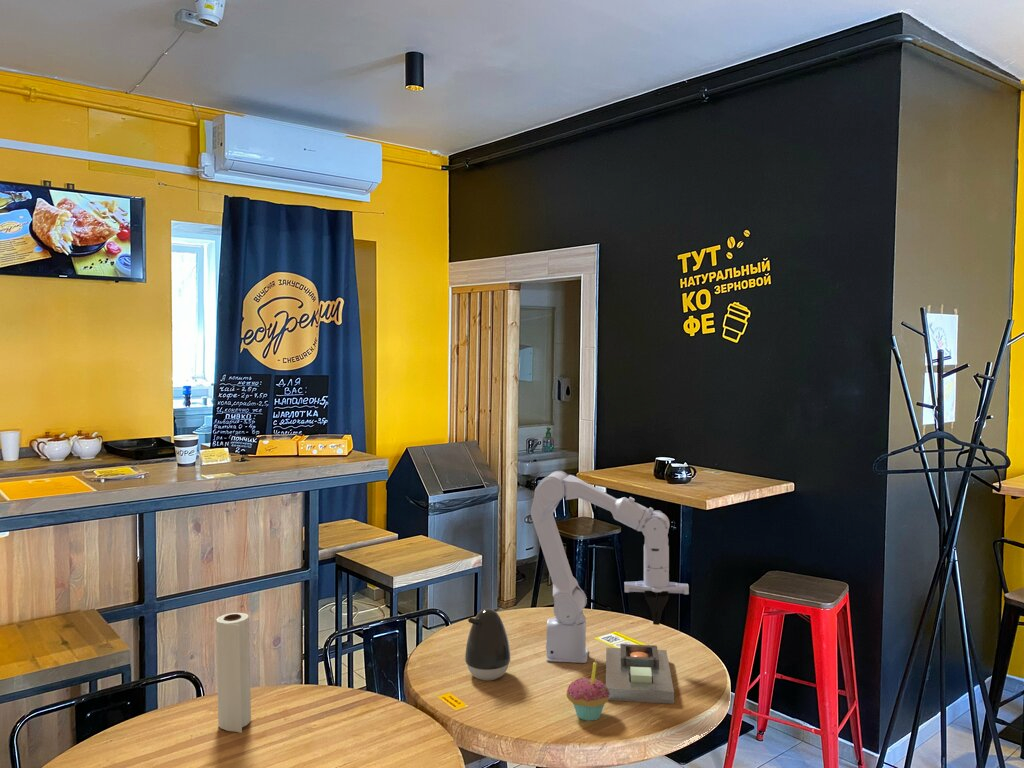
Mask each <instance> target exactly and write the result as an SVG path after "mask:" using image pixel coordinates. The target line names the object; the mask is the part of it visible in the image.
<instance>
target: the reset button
mask: <svg viewBox="0 0 1024 768" xmlns="http://www.w3.org/2000/svg"><path fill="white" fill-rule="evenodd" d="M630 657H648V654H646V653H644V652H633V653H631V654H630Z"/></svg>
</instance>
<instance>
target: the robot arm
mask: <svg viewBox="0 0 1024 768" xmlns="http://www.w3.org/2000/svg"><path fill="white" fill-rule="evenodd" d="M564 498H565V501H567V500H569V501H570V500H574V499H575V500H576V499H581V500H584V501H586V502H588V503H590V504H593V505H595V506H597V507H599V508H602V509H604V510H606V511H609V512H610V513H611V514H612V518H613V519H614V520H615V521H617V522H619V523H621V524H623V525H625V526H627V527H629V528H632V529H633V530H635V531H636V532H641V533H642V535H643V536H644V544H643V580H638V581H635V580H634V581H624V582H623V583H624V593H634V592H635V593H644V597H645V601H646V603H647V604H648V607H649V609H650V613H651V615H652V624H653V626H655V625H656V626H658V625H661V624H660V623H661V617H662V614H663V611H664V608H665V606H666V604H667V602H669V601H668V600H669V594H683V595H689V594H690V592H689V591H690V590H689V588H690V586H689V584H688V583H683V582H682V583H679V582H675V581H670V573H669V572H670V545H669V536H668V534H669V529H670V519H669V517H668V516H667V515H666V514H665V513H663V511H661V510H654V508H653V507H651V506H650V507H649V508H648V507H646V506H644V505H642V504H640V503H638V502H635V501H636V500H635V498H633V497H632V496H629V498H627V497H625V496H624V497H621V498H616V497H614V496H613V495H610V494H608V493H607V492H605V491H602V490H601V489H599V488H597V487H595V486H593V485H592V484H589V483H588V482H586V481H584V480H582V479H580V478H578V477H577V476H576V475H573V474H568V473H566V472H565V471H563V470H555V471H552V472H551V473H550V474H549V475H547V476H546V477H544V478H542V479H541V481H539V482H538V484H537V486H536V487H535V489H534V495H533V500H532V505H531V508H530V516H531V519H532V523H533V526H534V528H535V532H536V535H537V538H538V541H539V545H540V547H541V550H542V554H543V557H544V560H545V561H544V562H545V564H546V567H547V569H548V572H549V576H550V579H551V584H552V597H553V601H554V602H553V603H554V604H553V613H554V616H555V617H552V618H548V619H547V620H546V642H545V650H546V661H547V662H556V663H557V662H558V663H578V664H579V663H580V664H581V663H582V664H586V663H588V655H589V654H588V653H589V648H587V647H586V645H587V644H586V640H587V634H586V633H587V631H586V630H587V629H586V628H587V627H586V624H587V622H586V616H585V613H584V611H583V610H584V609H585V607H586V605H587V602H588V601H587V599H588V598H587V595H586V593H585V591H584V590H583V589H582V588H581V587H580V586H579V582H578V580H577V579H576V578H575V577H574V576H573V573H572V572H573V571H572V570H571V566H570V564H569V559H568V558H567V557H568V556H567V554H566V551H565V547H564V544H563V541H562V538H561V536H560V535H561V534H560V532H559V529H558V526H557V523H556V519H555V515H554V513H555V510H556V509H557V507H558V505H559V504H560V502H561V500H563V499H564Z"/></svg>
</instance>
